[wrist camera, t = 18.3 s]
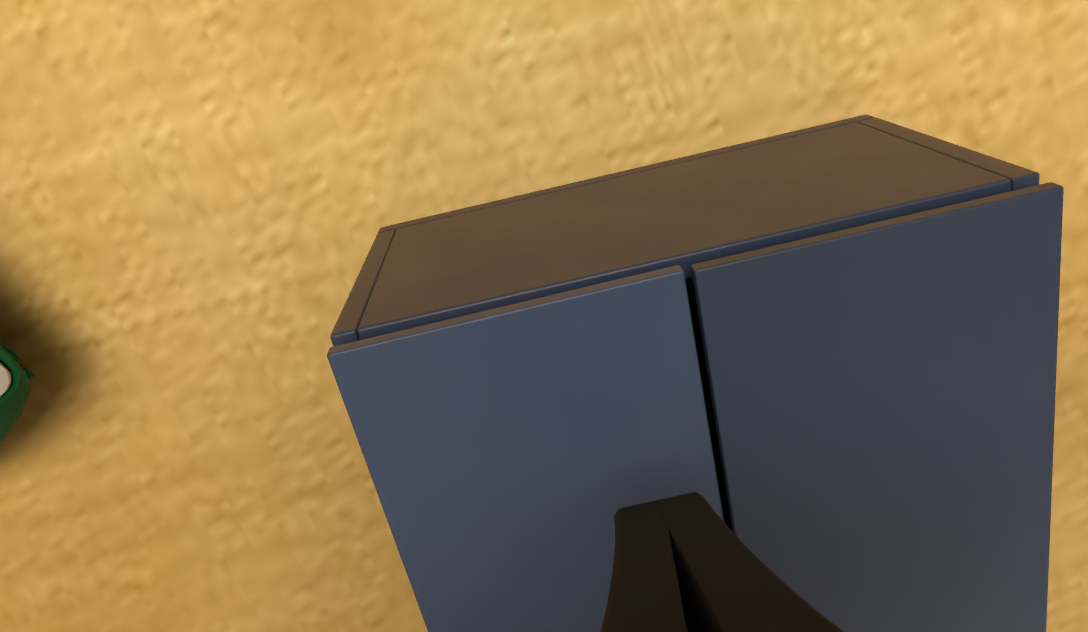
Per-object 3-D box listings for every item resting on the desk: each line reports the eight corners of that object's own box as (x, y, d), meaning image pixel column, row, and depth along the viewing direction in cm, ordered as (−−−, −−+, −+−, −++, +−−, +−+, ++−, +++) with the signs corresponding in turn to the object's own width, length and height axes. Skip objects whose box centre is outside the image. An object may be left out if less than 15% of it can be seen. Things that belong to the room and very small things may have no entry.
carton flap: (760, 761, 19) (765, 774, 19) (501, 820, 19) (502, 835, 19) (679, 263, 14) (684, 270, 14) (328, 347, 14) (325, 355, 14)
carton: (890, 516, 25) (1046, 722, 18) (497, 602, 26) (499, 837, 19) (867, 113, 20) (1068, 182, 13) (379, 227, 21) (320, 353, 14)
